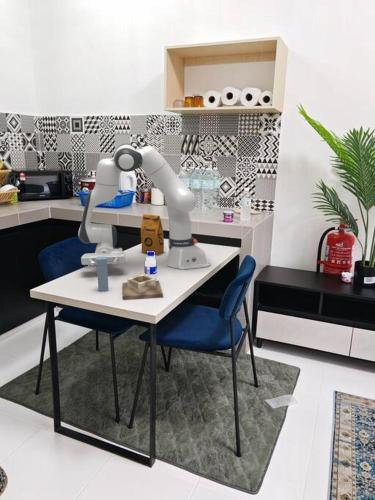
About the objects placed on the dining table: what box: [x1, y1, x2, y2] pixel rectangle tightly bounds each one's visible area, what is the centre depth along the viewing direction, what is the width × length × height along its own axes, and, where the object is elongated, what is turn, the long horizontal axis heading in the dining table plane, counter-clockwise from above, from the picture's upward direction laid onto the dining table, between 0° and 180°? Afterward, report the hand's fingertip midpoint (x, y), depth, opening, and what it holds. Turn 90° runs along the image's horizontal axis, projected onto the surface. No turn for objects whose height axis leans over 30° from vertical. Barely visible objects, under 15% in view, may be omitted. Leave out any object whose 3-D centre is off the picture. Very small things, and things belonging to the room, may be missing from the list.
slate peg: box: [96, 257, 109, 292], centre depth 165 cm, size 4×4×14 cm
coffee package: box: [140, 213, 165, 256], centre depth 220 cm, size 10×12×22 cm
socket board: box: [121, 274, 164, 301], centre depth 164 cm, size 16×16×6 cm
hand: (103, 263), depth 176 cm, fingers open, 8 cm apart
